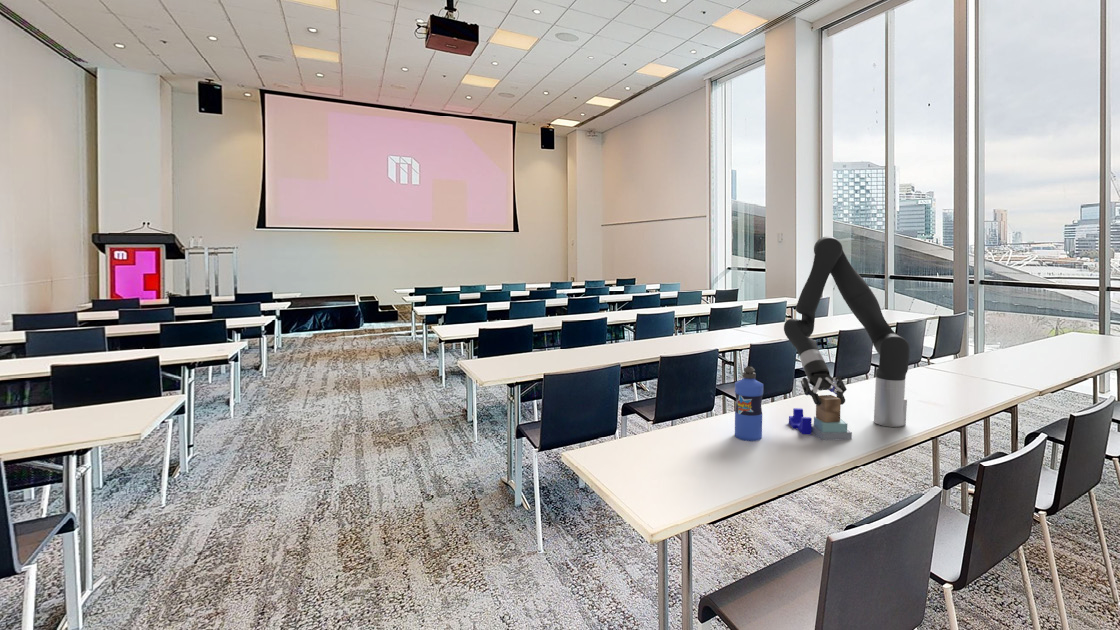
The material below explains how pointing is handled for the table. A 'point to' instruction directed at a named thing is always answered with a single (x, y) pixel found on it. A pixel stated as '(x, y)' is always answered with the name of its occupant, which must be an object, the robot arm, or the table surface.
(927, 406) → the table surface
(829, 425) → the teal top slab
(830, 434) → the slate base slab
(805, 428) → the cable clip
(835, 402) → the walnut block
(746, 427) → the water bottle
